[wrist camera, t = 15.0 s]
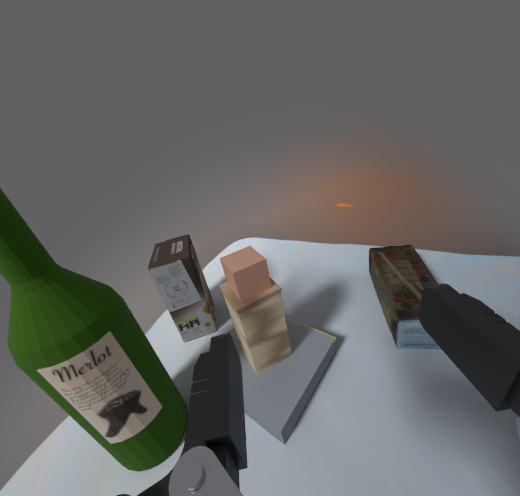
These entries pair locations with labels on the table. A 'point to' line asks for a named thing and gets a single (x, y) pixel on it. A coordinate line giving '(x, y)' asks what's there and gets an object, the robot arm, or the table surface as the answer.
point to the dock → (286, 379)
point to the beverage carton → (402, 293)
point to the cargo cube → (246, 273)
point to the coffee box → (183, 287)
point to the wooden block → (260, 326)
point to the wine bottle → (87, 351)
